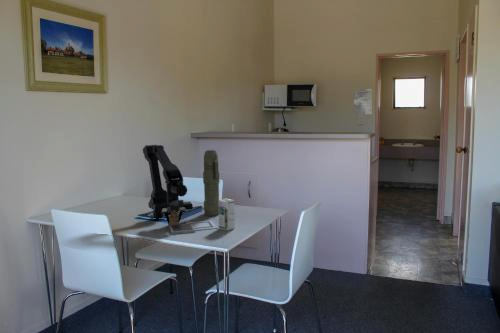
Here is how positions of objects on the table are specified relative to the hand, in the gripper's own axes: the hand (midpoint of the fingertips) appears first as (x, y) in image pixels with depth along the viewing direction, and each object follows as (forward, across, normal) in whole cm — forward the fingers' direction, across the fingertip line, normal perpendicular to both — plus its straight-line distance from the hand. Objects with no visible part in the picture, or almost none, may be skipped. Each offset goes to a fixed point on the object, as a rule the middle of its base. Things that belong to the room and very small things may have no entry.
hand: (173, 223), depth 221 cm
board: (+1, +13, -4) cm, 14 cm away
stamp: (+1, 0, 0) cm, 1 cm away
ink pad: (+1, +3, -8) cm, 9 cm away
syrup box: (+1, +24, -13) cm, 27 cm away
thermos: (+1, +23, +17) cm, 29 cm away
